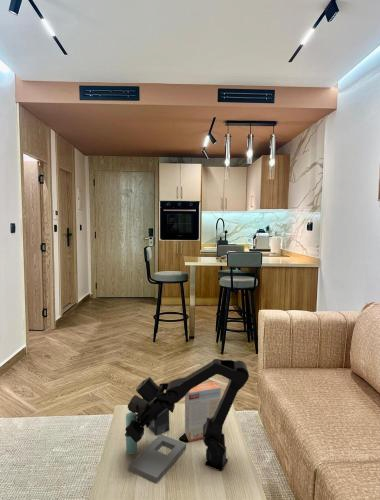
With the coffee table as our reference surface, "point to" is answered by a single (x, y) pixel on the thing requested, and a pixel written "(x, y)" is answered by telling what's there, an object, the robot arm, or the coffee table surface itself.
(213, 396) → the cracker box
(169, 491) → the coffee table surface
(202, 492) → the coffee table surface
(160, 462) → the socket plate
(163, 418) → the small box
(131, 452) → the peg
